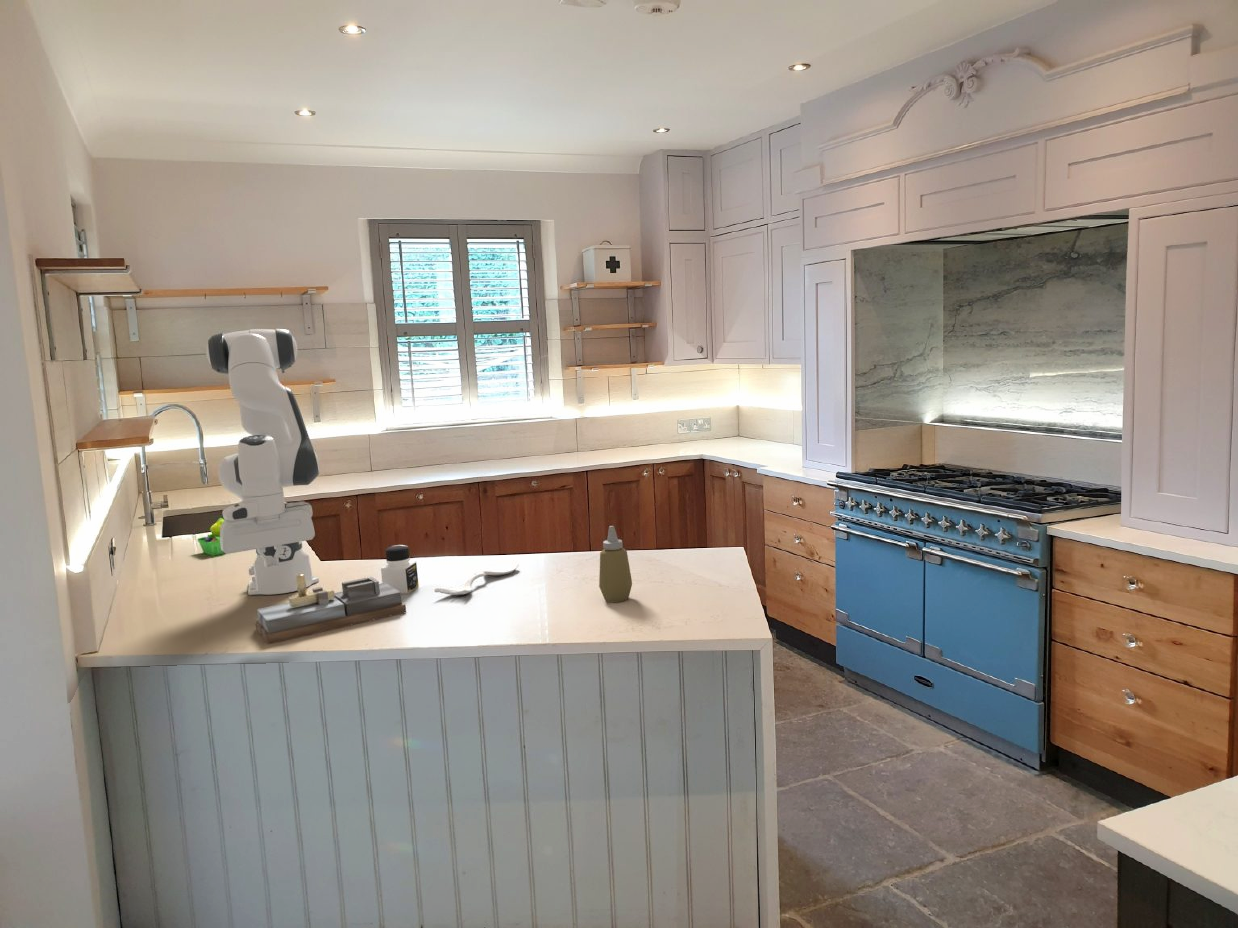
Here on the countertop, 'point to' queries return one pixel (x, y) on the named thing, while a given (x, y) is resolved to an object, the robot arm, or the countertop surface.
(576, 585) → the countertop surface
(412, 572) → the medicine bottle
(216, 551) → the fruit basket
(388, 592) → the sliding barrel latch
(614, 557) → the squeeze bottle
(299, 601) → the bolt
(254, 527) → the robot arm
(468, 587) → the white fork
